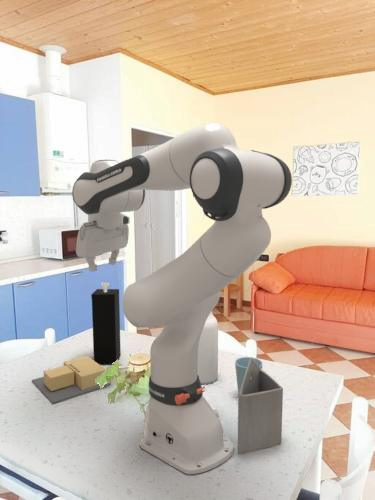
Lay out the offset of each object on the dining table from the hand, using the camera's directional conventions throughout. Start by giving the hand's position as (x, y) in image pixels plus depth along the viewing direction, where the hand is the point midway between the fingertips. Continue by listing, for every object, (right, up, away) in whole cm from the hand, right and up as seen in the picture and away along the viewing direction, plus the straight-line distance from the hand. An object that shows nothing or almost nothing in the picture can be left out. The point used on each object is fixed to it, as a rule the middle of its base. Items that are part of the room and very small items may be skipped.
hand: (103, 267), depth 113 cm
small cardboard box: (-15, -35, +6) cm, 39 cm away
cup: (+41, -37, 0) cm, 56 cm away
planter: (+42, -40, -20) cm, 61 cm away
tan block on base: (-12, -36, +9) cm, 39 cm away
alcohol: (+29, -36, +12) cm, 48 cm away
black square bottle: (-4, -34, +26) cm, 43 cm away
